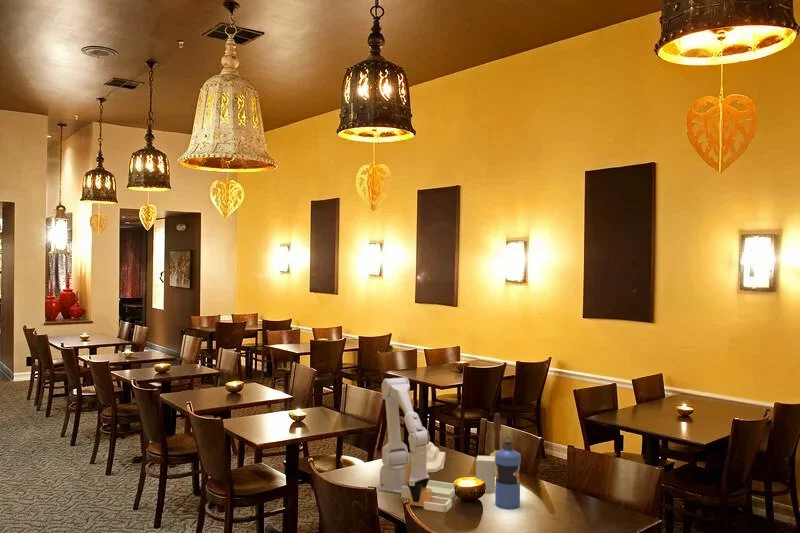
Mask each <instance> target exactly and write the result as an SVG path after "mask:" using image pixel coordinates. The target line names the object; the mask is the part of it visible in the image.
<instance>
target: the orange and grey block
mask: <svg viewBox="0 0 800 533" xmlns="http://www.w3.org/2000/svg"><path fill="white" fill-rule="evenodd" d="M400 498H401V499H408V500H409V505H410V506H417V507H423V508H424V502H432V488H425V487H422V488H421V492H420V499H419V502H413V499H412V495H411V491H410V489H409V487H408V485H404V486H402V487H401V493H400Z"/></svg>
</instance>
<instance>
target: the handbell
mask: <svg viewBox="0 0 800 533" xmlns="http://www.w3.org/2000/svg"><path fill="white" fill-rule="evenodd" d="M492 425H493V430H494V431H493V433H494V451H493V452H491V453H490V454H489V456H495V453H496V452H497V451H500V450H501V449H500V444H501V443H500V434H501V429H502V419H501V414H500V413H499V412H495V413H494V417H493V424H492ZM496 475H497V470H496V462H495V476H496Z"/></svg>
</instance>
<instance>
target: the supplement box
mask: <svg viewBox="0 0 800 533" xmlns="http://www.w3.org/2000/svg"><path fill="white" fill-rule="evenodd" d="M475 467H476V468H475V479H476V478H478V479H481V480H483V481H484V482H485V484H486V493H485V494H495V484H496V475H495V456H490V455H477V456H476V460H475Z"/></svg>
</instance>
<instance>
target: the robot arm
mask: <svg viewBox="0 0 800 533" xmlns="http://www.w3.org/2000/svg"><path fill="white" fill-rule="evenodd" d="M410 390H411V385H410V380H409V378H408V377H406V376H403V377H392V378H387V377H386V378H384V379H383V381H382V383H381V395H382V399H383V400H385V411H386V414H385V415H386V423H387V424H386V426H387V438H388V439H387V440H388V442H387V443H386V444H384V446H382V453H381V463H382V466H381V468H380V471H379V488H378V490H379V491H383V492H390V493H398V494H401V487H402V486H405V468H406V467H407V465H408V464H409V461H410V476H409V480H408V481H407V483H406V484H407V485H406V486H408V487H409V489H410V491H411V495H412V499H413V502H419V499H420V492H421V488H422V487H425V488H426V486H427V483H428V481H429V480H430V475H429V473H428V470H426V455H427V446H426V445H428V444H429V442H431V441H430V440H431V437H430V436H431V435H430V434H429V430H427V428H426V427H425V426H423V425H422V421H421V419H420V416H419V414H418V413H417V412H415V410H414V408H413V405H412V400H411V397H410ZM399 405H400V407H401V410H402V411H403V413H404V417H403V421H404V423H405V426H406V429H407V432H408V438H407V440H408V444H409V450H410V453H409V451H408V446H407V444H405V442H403V441H402V435H401V423H400V421H401V420H400V411H399V410H400V409H399Z"/></svg>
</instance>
